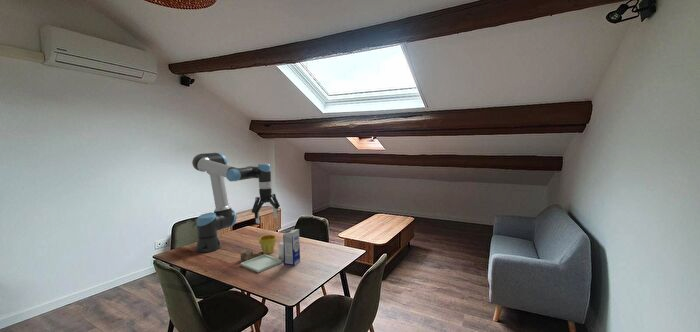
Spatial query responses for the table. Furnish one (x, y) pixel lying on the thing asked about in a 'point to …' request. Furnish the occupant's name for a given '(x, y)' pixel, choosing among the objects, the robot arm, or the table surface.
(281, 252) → the white rounded capsule
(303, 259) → the table surface
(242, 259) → the walnut block
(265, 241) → the plant pot
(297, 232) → the milk carton
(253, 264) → the tray
